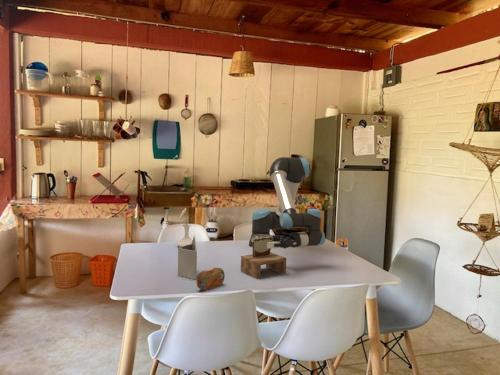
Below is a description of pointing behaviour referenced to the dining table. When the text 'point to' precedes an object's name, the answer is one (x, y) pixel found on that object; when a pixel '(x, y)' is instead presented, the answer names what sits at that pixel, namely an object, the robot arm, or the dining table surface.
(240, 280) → the dining table surface
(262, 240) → the food container
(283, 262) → the walnut shelf
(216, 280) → the tin
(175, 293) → the dining table surface
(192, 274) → the planter
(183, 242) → the flower in vase
